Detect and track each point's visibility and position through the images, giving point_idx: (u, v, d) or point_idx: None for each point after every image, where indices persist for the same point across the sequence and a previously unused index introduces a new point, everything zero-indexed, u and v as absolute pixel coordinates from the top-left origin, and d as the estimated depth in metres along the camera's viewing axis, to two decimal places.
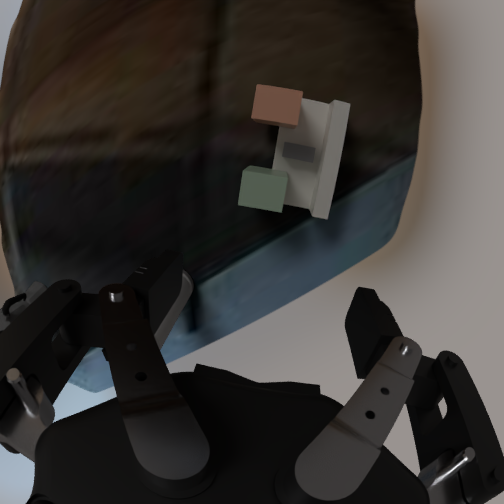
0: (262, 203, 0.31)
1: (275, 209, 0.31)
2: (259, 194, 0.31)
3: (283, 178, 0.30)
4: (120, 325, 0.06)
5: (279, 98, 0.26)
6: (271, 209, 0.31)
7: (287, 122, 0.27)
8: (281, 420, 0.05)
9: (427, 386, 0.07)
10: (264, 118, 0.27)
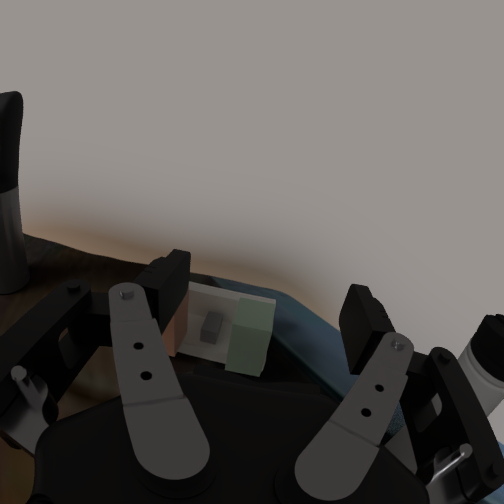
0: (268, 314, 0.29)
1: (272, 307, 0.30)
2: (257, 315, 0.29)
3: (240, 299, 0.31)
4: (128, 324, 0.06)
5: None
6: (273, 309, 0.30)
7: None
8: (281, 420, 0.05)
9: (419, 382, 0.07)
10: None
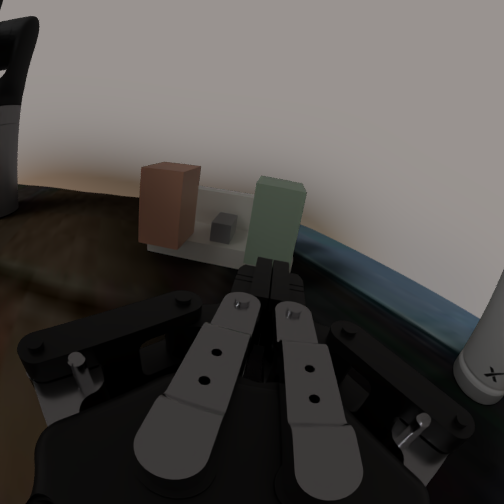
0: (297, 185, 0.24)
1: (300, 184, 0.25)
2: (285, 184, 0.23)
3: (262, 176, 0.26)
4: (220, 330, 0.07)
5: (166, 165, 0.24)
6: (301, 184, 0.25)
7: (196, 167, 0.25)
8: (281, 420, 0.05)
9: None
10: (187, 169, 0.23)
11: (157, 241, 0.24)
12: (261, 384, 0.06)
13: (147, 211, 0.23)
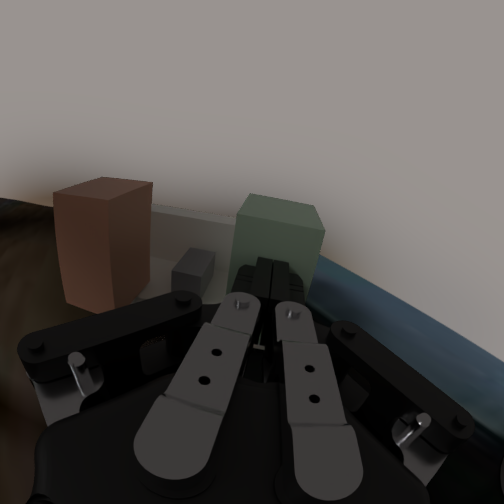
0: (307, 212, 0.15)
1: (311, 207, 0.16)
2: (288, 211, 0.14)
3: (250, 195, 0.16)
4: (220, 330, 0.07)
5: (96, 184, 0.14)
6: (313, 209, 0.16)
7: (142, 185, 0.15)
8: (281, 420, 0.05)
9: None
10: (120, 193, 0.13)
11: (88, 305, 0.14)
12: (261, 384, 0.06)
13: (68, 261, 0.13)
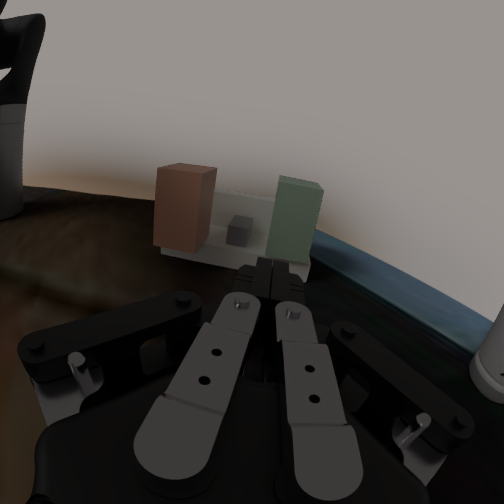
0: (313, 184, 0.26)
1: (316, 183, 0.27)
2: (303, 183, 0.25)
3: (280, 176, 0.28)
4: (220, 330, 0.07)
5: (182, 166, 0.24)
6: (317, 184, 0.27)
7: (213, 168, 0.25)
8: (281, 420, 0.05)
9: None
10: (205, 171, 0.23)
11: (173, 244, 0.24)
12: (261, 384, 0.06)
13: (163, 213, 0.23)
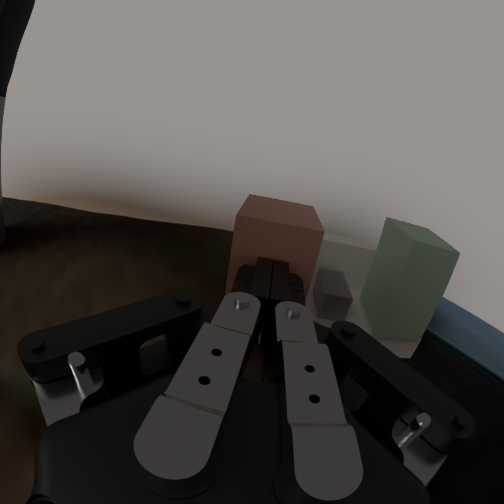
0: (435, 236, 0.17)
1: (429, 231, 0.18)
2: (428, 236, 0.16)
3: (389, 219, 0.18)
4: (220, 330, 0.07)
5: (268, 206, 0.15)
6: (433, 233, 0.18)
7: (313, 210, 0.16)
8: (281, 420, 0.05)
9: None
10: (317, 222, 0.13)
11: None
12: (261, 384, 0.06)
13: None
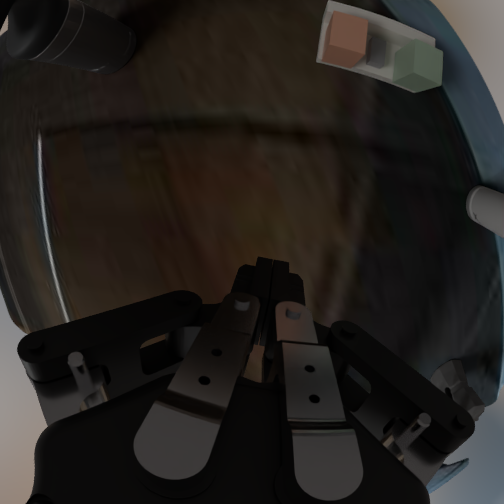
0: (438, 64, 0.21)
1: (441, 55, 0.20)
2: (431, 64, 0.21)
3: (416, 41, 0.20)
4: (220, 330, 0.07)
5: (343, 28, 0.21)
6: (441, 58, 0.20)
7: (366, 26, 0.21)
8: (281, 420, 0.05)
9: None
10: (364, 43, 0.22)
11: (336, 64, 0.28)
12: (261, 384, 0.06)
13: (331, 56, 0.26)
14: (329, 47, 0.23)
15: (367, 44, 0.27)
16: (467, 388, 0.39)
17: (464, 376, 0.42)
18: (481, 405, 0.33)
